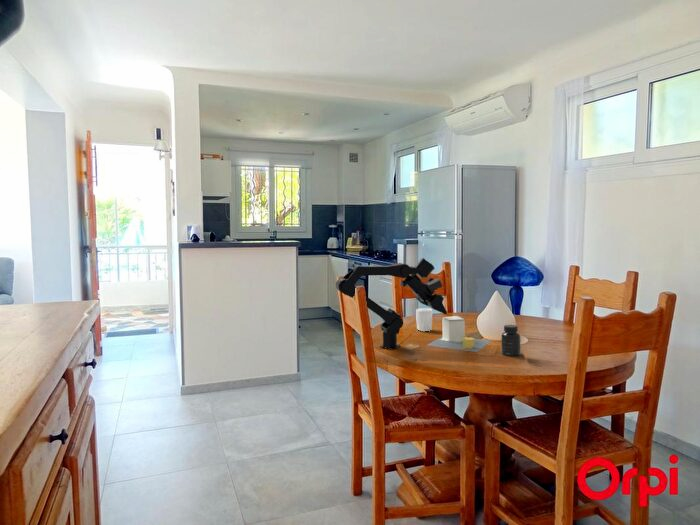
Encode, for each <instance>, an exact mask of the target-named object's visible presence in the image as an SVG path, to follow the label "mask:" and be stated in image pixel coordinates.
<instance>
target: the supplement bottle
mask: <svg viewBox="0 0 700 525" xmlns="http://www.w3.org/2000/svg"><path fill="white" fill-rule="evenodd" d="M518 331H519V329H518V325H516V324H505V325H504V326H503V333H501V339H500V340H501V355H502V356H505V357H509V358H510V357H511V358H513V357H520V356H521V334H520V333H519V332H518Z"/></svg>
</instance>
